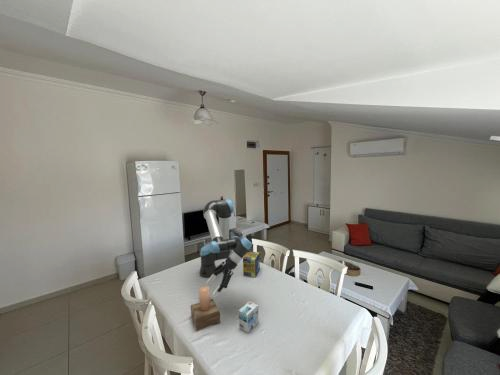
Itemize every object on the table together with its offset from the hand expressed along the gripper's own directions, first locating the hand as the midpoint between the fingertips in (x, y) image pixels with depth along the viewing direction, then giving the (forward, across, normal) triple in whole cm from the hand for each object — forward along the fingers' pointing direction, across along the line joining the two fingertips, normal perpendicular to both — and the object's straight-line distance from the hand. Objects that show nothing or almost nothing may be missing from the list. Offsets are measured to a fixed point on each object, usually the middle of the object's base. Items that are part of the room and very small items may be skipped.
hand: (210, 289), depth 130 cm
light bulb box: (+1, -16, -25) cm, 30 cm away
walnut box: (+16, 0, -10) cm, 18 cm away
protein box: (-19, +37, -45) cm, 62 cm away
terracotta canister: (+10, 0, -5) cm, 11 cm away
